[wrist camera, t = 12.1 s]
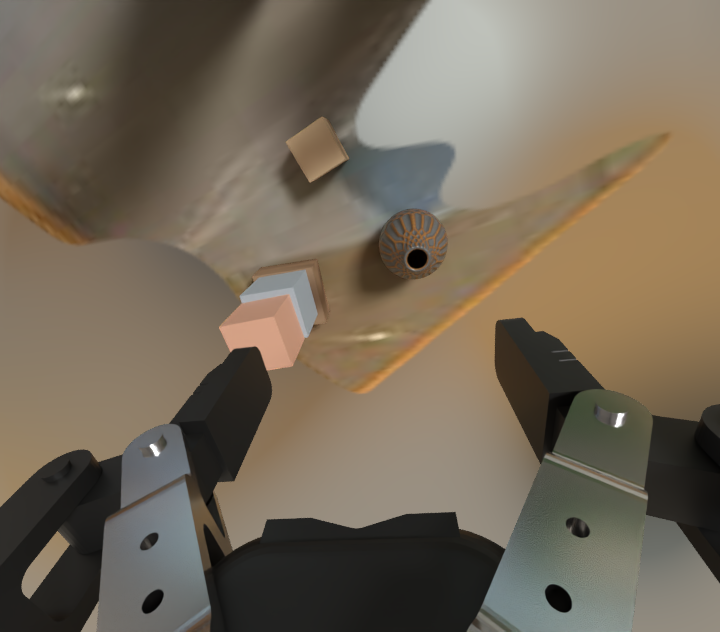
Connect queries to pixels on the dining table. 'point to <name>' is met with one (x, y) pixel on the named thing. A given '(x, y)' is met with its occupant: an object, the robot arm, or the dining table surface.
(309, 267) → the walnut slab
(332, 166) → the maple block
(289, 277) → the slate cube
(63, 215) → the dining table surface
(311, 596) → the robot arm
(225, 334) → the terracotta cube
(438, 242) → the vase
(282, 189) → the dining table surface
